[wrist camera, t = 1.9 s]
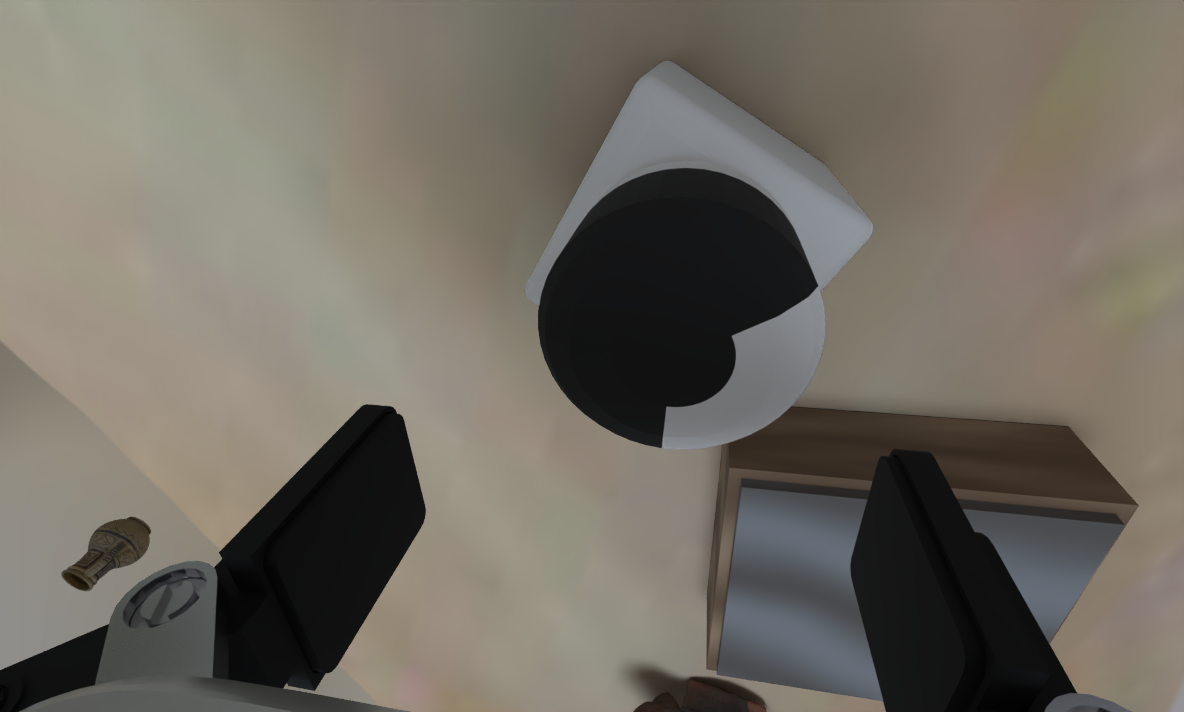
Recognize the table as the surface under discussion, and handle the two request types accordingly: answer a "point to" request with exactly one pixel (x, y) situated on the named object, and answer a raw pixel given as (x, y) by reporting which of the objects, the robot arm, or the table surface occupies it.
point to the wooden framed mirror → (833, 517)
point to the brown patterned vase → (109, 551)
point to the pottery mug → (701, 701)
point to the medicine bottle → (692, 270)
